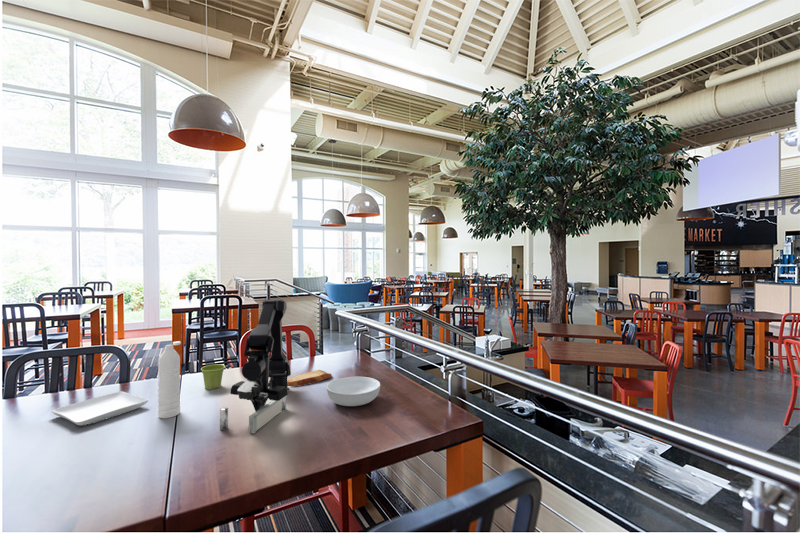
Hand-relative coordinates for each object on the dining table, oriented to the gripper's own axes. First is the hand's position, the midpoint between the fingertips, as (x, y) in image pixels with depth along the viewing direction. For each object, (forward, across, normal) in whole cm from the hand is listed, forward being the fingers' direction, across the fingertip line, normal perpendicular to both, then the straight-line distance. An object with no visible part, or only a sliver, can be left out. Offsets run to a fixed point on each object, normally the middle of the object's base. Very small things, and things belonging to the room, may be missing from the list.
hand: (258, 415), depth 118 cm
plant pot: (+4, -41, +24) cm, 47 cm away
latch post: (+2, -8, -7) cm, 11 cm away
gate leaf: (+2, +3, +1) cm, 3 cm away
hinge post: (+2, +2, +11) cm, 11 cm away
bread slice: (+3, -4, +43) cm, 43 cm away
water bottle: (+3, -34, -2) cm, 35 cm away
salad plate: (+4, -59, -8) cm, 60 cm away
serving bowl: (+2, +25, +25) cm, 35 cm away
